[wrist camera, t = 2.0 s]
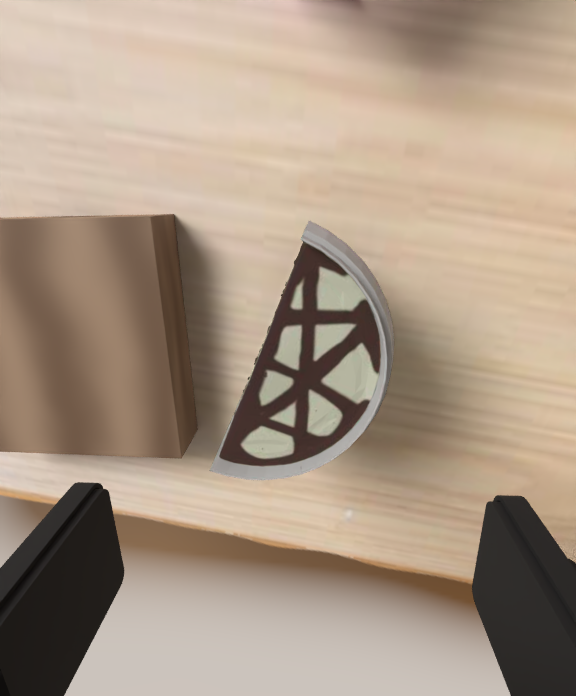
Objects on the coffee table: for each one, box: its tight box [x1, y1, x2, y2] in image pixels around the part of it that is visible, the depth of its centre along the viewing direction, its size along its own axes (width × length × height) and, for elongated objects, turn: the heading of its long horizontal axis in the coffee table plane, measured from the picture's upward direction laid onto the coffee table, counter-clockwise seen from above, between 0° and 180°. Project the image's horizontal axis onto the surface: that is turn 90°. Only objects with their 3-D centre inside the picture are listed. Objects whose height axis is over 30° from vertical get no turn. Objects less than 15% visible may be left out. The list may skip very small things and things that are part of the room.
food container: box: [210, 221, 394, 480], centre depth 22 cm, size 12×6×10 cm, turn 159°
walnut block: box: [0, 214, 198, 458], centre depth 27 cm, size 14×15×4 cm
